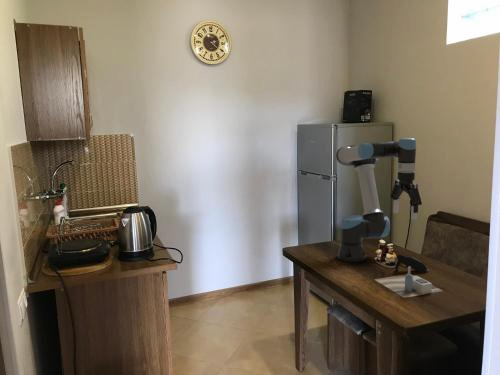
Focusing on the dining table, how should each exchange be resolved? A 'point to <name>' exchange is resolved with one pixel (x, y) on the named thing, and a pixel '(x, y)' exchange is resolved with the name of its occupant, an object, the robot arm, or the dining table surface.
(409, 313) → the dining table surface
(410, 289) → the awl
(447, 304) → the dining table surface
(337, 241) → the dining table surface
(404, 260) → the gun
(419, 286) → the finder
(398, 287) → the panel
